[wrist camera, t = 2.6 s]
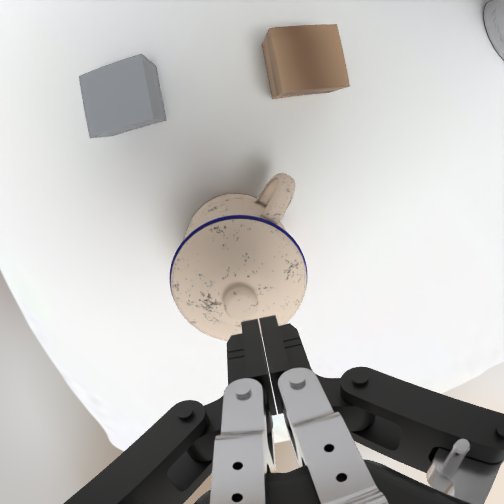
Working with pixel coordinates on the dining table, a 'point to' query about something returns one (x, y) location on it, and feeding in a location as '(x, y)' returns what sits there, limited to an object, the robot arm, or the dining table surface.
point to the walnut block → (304, 60)
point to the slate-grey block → (122, 97)
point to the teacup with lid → (239, 262)
